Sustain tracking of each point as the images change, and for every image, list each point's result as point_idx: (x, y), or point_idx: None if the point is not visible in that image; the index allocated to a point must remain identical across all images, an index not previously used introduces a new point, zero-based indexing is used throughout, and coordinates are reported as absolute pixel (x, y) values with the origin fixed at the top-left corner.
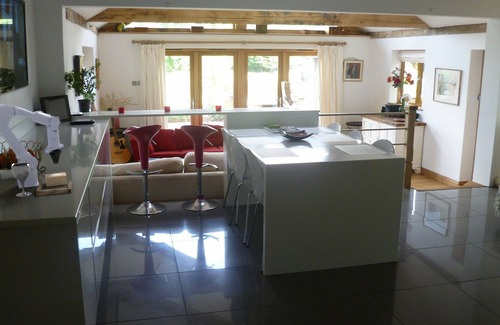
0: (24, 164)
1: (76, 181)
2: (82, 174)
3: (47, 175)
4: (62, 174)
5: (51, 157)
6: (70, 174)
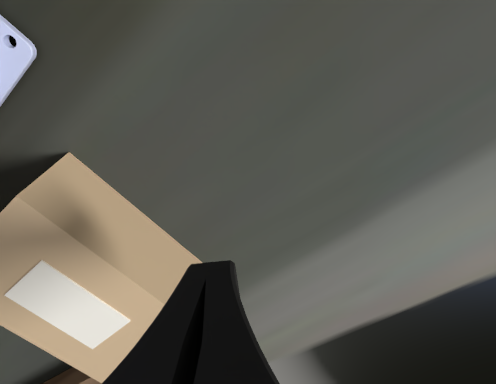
0: None
1: None
2: (431, 267)
3: (3, 248)
4: (116, 347)
5: (126, 360)
6: (428, 171)
